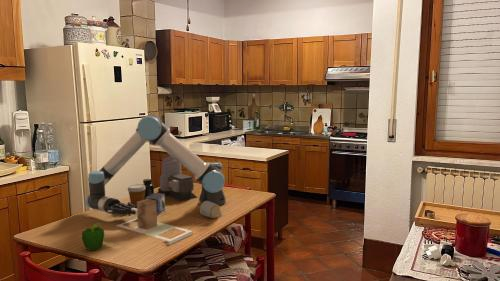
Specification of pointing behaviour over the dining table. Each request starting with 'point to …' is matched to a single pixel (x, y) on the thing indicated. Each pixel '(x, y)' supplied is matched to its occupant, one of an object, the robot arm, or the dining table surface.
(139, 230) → the trap board
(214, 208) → the ceramic mug
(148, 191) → the supplement bottle
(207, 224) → the dining table surface
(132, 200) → the disposable coffee cup
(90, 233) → the bell pepper
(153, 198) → the small box
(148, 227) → the walnut block
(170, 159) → the juicer
